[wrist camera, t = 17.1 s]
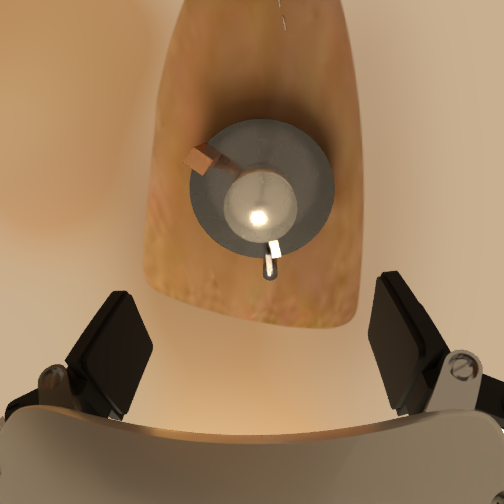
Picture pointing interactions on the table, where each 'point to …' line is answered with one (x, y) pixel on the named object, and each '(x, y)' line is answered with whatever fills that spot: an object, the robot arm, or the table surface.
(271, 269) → the dial pointer
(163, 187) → the table surface
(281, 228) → the cover
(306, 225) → the turntable
